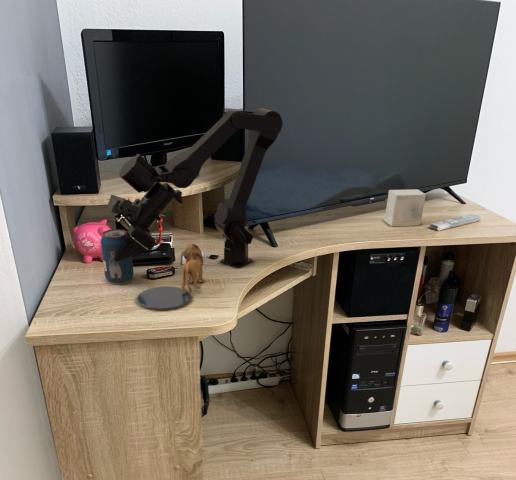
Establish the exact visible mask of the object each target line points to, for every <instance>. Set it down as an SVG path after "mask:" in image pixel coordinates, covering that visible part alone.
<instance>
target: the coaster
mask: <svg viewBox="0 0 516 480" xmlns="http://www.w3.org/2000/svg"><path fill="white" fill-rule="evenodd" d="M181 290H182V287H178V286H166V285H165V286H156V287H151V288H148V289H145V290H143V291H142V292H140V293H139V294H138V295H137V303H138V305H140V306H141V307H142V308H144V309H147V310H150V311H151V310H152V311H160V312H161V311H162V312H163V311H172V310H176V309H180V308H183V307H185V306H186V305H187V304H189V302H190V301H191V293H189V291H188V290H186V292H181Z"/></svg>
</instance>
